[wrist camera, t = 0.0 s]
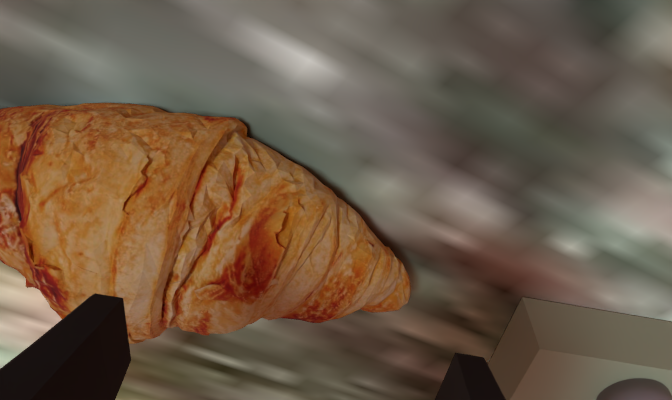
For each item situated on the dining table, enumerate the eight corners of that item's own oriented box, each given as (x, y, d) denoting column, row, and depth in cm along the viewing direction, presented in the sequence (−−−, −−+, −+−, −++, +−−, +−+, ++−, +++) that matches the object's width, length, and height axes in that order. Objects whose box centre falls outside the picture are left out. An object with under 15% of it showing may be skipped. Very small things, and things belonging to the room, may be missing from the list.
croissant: (425, 173, 24) (490, 189, 16) (366, 367, 24) (400, 473, 17) (-32, 42, 21) (-226, -18, 13) (-78, 261, 22) (-285, 326, 14)
